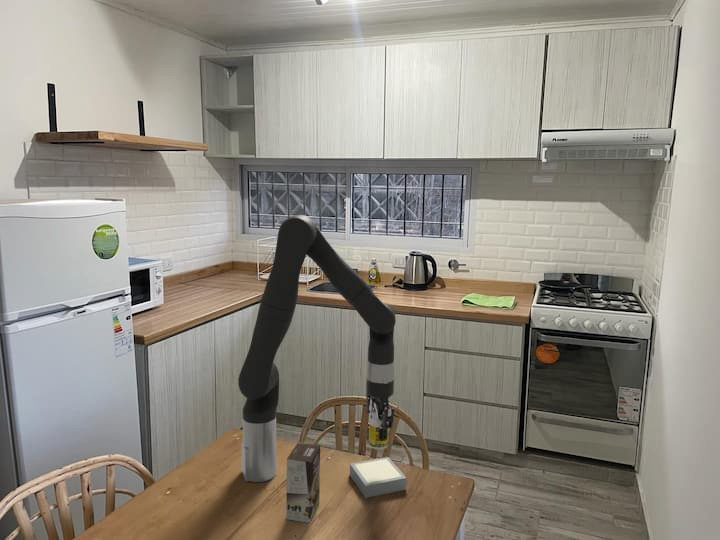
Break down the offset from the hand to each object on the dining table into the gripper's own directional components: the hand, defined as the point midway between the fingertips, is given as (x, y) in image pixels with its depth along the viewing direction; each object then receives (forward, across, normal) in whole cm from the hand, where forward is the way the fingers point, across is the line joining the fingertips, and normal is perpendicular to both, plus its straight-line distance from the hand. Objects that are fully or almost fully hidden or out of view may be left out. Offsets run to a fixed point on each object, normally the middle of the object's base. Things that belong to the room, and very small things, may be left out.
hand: (378, 435), depth 148 cm
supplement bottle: (+3, 0, 0) cm, 3 cm away
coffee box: (+14, +6, -23) cm, 28 cm away
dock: (+14, 0, 0) cm, 14 cm away
